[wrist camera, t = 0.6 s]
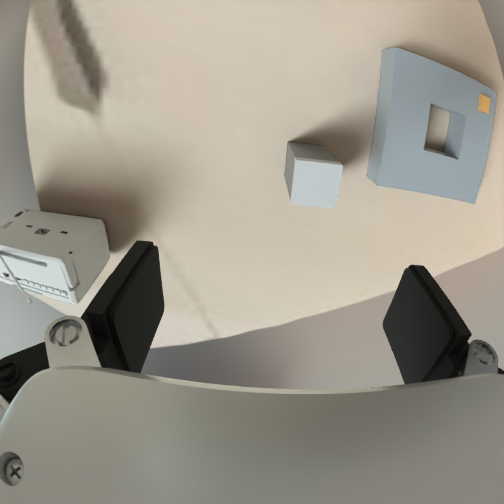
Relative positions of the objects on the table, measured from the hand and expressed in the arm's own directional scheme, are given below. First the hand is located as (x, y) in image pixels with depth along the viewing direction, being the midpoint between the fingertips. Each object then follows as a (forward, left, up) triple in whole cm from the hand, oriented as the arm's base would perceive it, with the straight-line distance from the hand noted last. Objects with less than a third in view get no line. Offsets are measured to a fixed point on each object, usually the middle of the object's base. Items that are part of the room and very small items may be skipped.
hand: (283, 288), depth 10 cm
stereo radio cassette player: (+14, -34, -29) cm, 47 cm away
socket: (-6, +23, -29) cm, 37 cm away
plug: (+2, +5, -29) cm, 29 cm away
